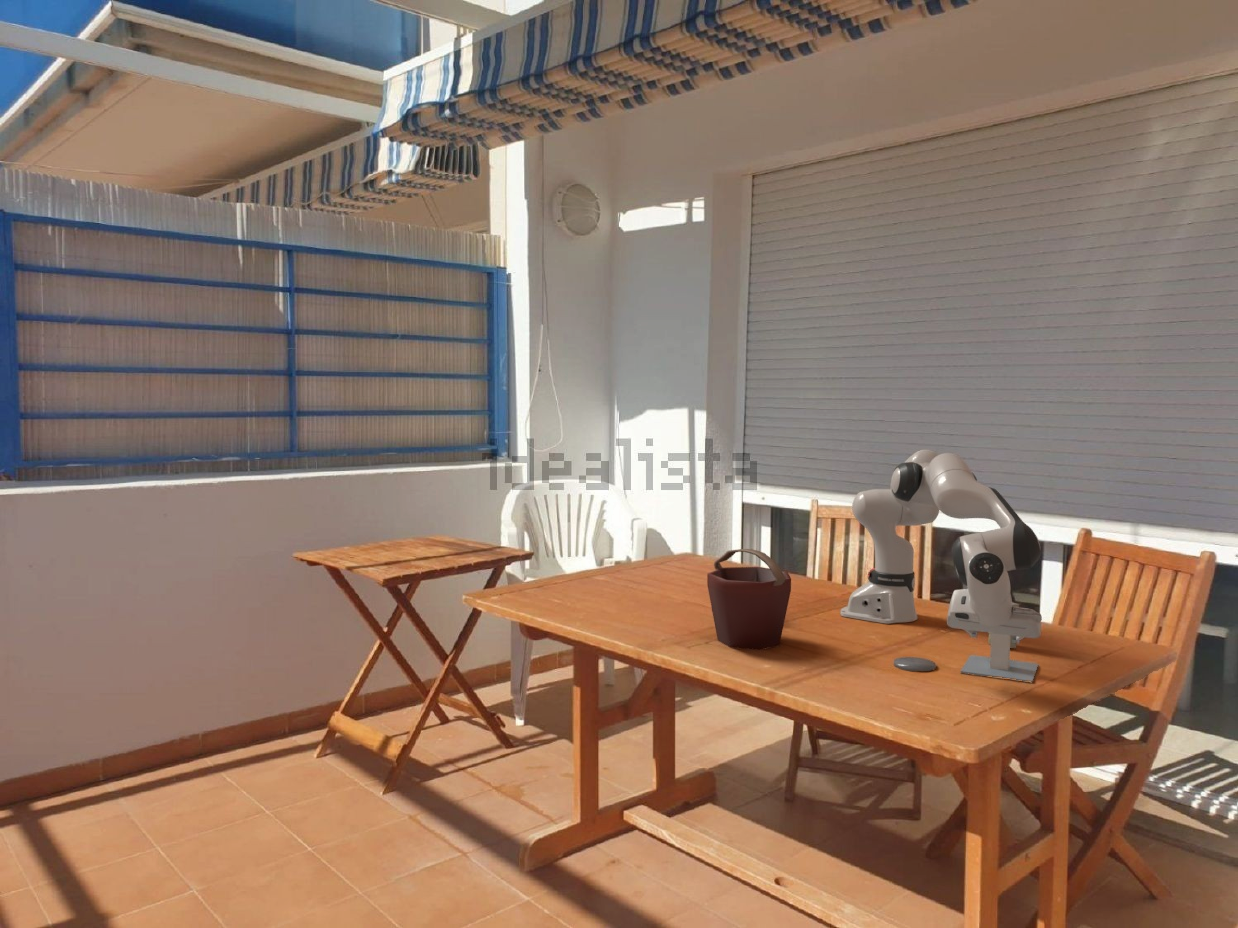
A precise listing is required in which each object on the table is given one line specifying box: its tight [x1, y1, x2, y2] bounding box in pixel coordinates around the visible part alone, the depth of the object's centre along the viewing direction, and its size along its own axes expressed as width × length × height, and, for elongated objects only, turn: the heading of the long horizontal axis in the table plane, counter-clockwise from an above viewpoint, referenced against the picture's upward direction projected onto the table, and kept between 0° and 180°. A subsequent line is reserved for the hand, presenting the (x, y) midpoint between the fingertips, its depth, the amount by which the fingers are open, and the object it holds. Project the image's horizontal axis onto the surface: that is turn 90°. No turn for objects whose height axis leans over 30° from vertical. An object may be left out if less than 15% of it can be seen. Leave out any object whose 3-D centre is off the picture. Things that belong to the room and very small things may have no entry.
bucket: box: [706, 548, 792, 651], centre depth 255 cm, size 24×22×25 cm
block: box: [989, 633, 1011, 670], centre depth 229 cm, size 4×4×9 cm
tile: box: [959, 654, 1039, 682], centre depth 230 cm, size 16×16×1 cm
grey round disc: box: [893, 656, 937, 672], centre depth 233 cm, size 10×10×1 cm
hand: (994, 637), depth 221 cm, fingers open, 8 cm apart
